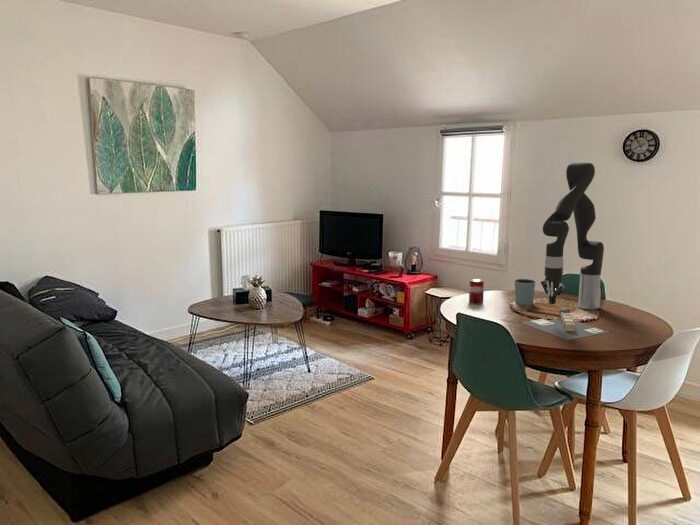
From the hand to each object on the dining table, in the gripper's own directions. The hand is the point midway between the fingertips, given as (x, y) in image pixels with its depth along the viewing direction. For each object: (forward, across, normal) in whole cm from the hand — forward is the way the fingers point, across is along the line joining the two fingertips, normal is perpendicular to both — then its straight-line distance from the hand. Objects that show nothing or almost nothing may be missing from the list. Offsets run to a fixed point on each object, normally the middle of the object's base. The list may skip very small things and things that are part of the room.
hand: (552, 303), depth 239 cm
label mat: (+9, -7, -1) cm, 11 cm away
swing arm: (+9, -4, -5) cm, 11 cm away
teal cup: (+10, +33, -14) cm, 37 cm away
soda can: (+10, +45, +8) cm, 46 cm away
